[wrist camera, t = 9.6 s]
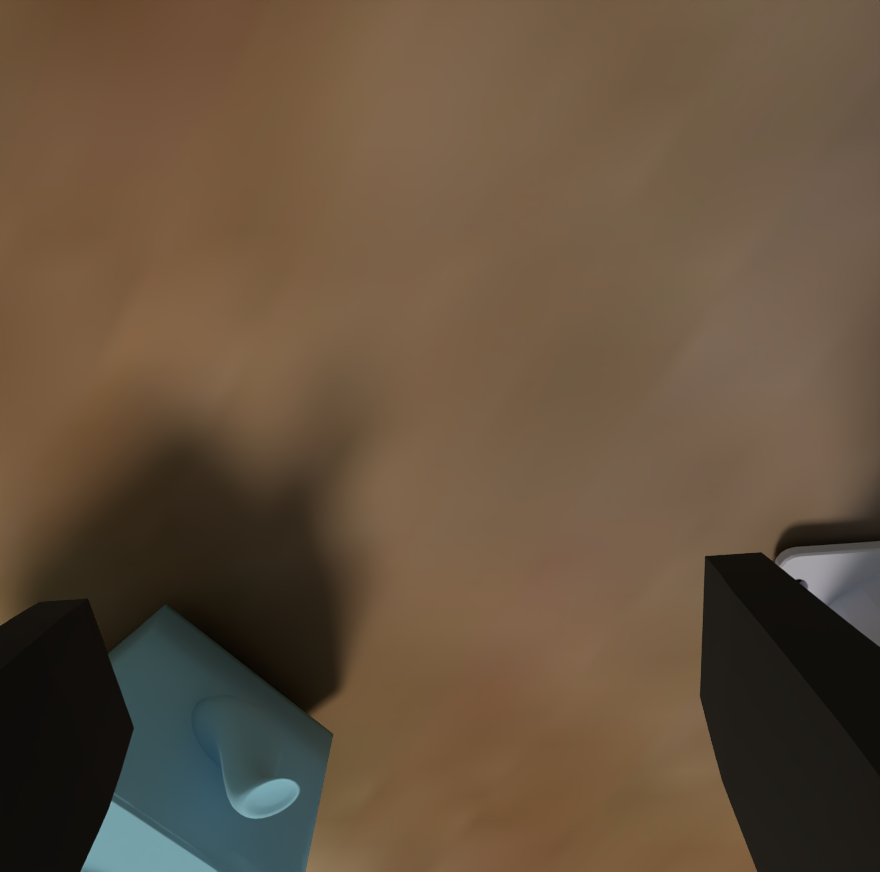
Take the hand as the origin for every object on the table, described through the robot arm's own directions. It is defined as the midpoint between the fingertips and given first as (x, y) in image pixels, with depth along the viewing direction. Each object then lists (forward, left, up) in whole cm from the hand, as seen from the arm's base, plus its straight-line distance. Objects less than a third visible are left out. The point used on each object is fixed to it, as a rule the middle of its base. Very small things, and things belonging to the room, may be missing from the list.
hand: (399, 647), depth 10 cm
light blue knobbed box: (-10, +8, -11) cm, 17 cm away
